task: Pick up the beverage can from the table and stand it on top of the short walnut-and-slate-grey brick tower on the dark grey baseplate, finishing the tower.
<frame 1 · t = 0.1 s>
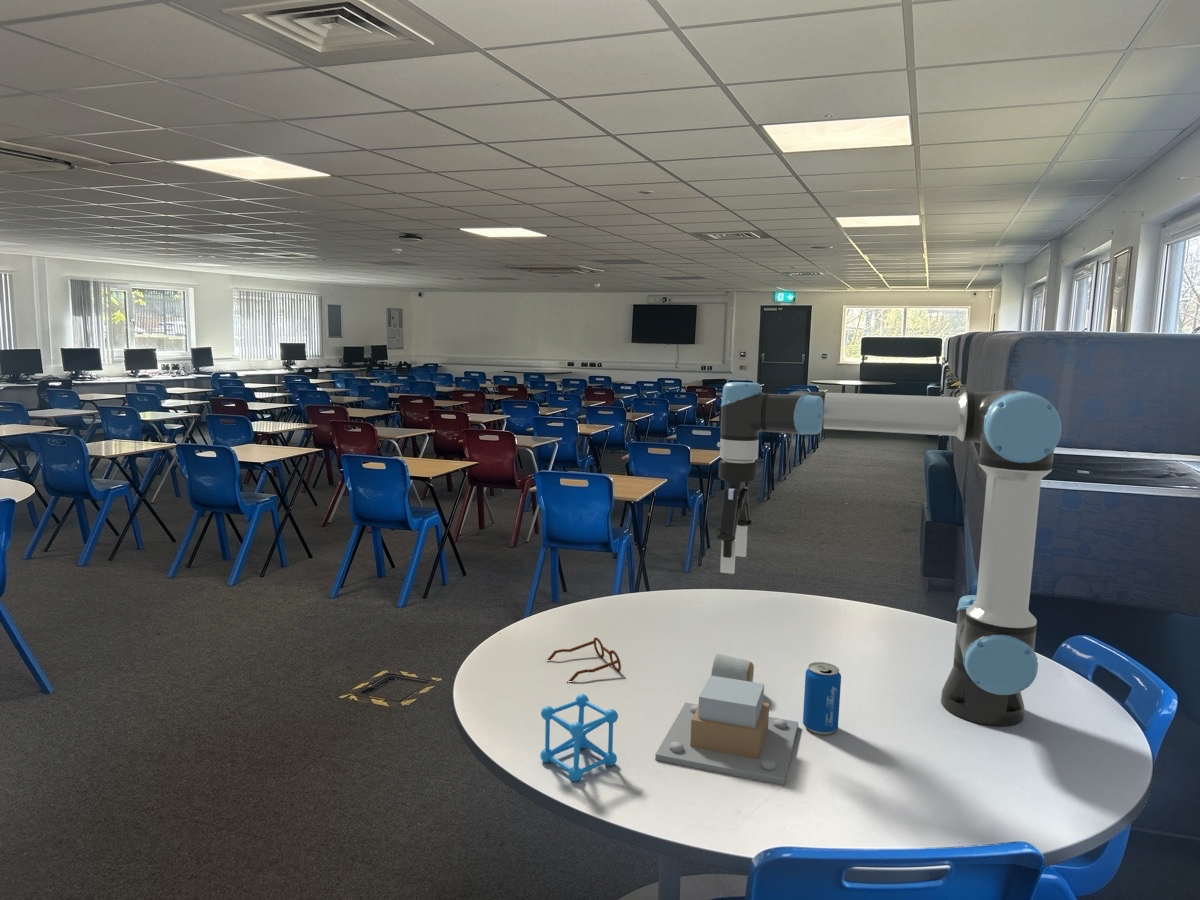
hand: (733, 564, 162), 28 cm above the table, tool pointing down, fingers open, 13 cm apart
beverage can: (820, 729, 152), on the table
molecular structure: (578, 764, 138), on the table
glasses: (582, 670, 179), on the table
tower base: (729, 742, 146), on the table
ceramic mug: (731, 690, 169), on the table
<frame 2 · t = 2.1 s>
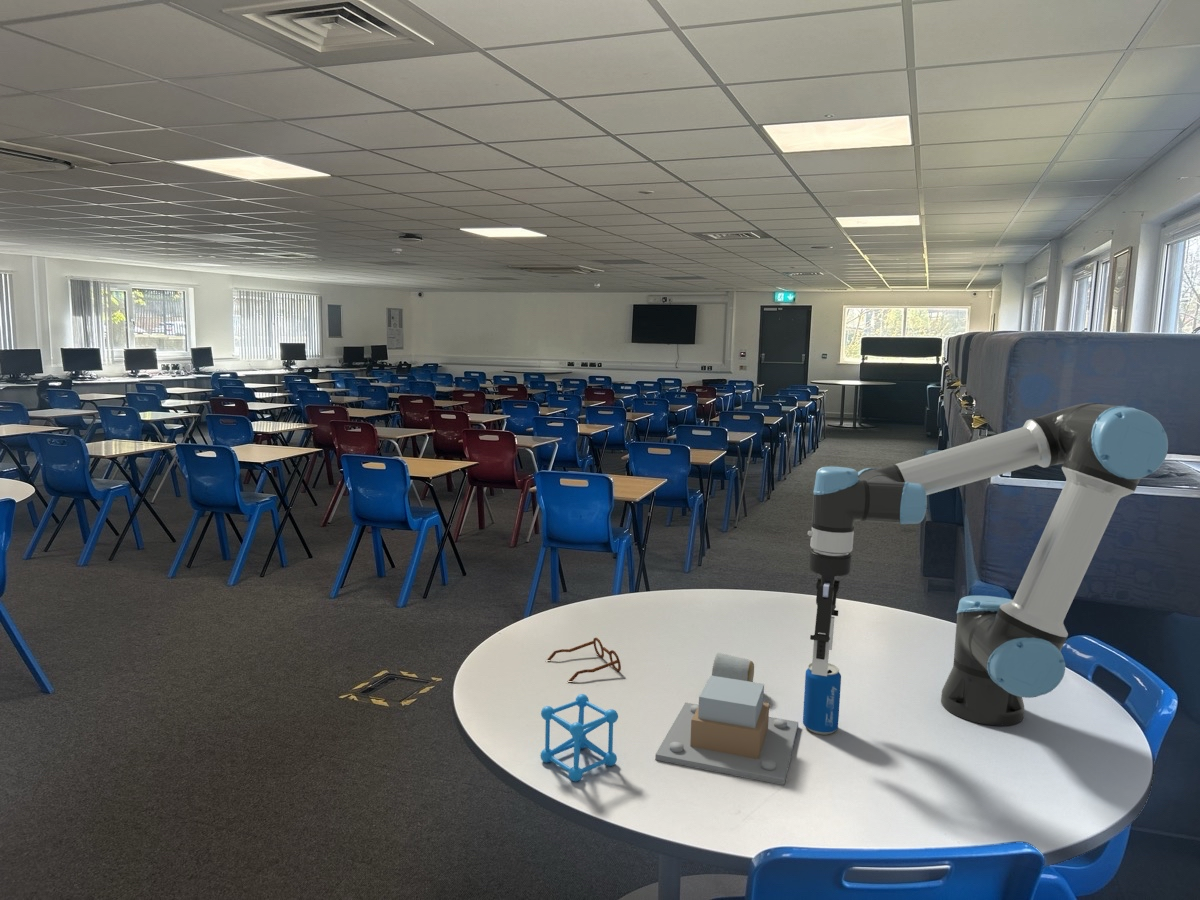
hand: (822, 661, 150), 13 cm above the table, tool pointing down, fingers open, 13 cm apart
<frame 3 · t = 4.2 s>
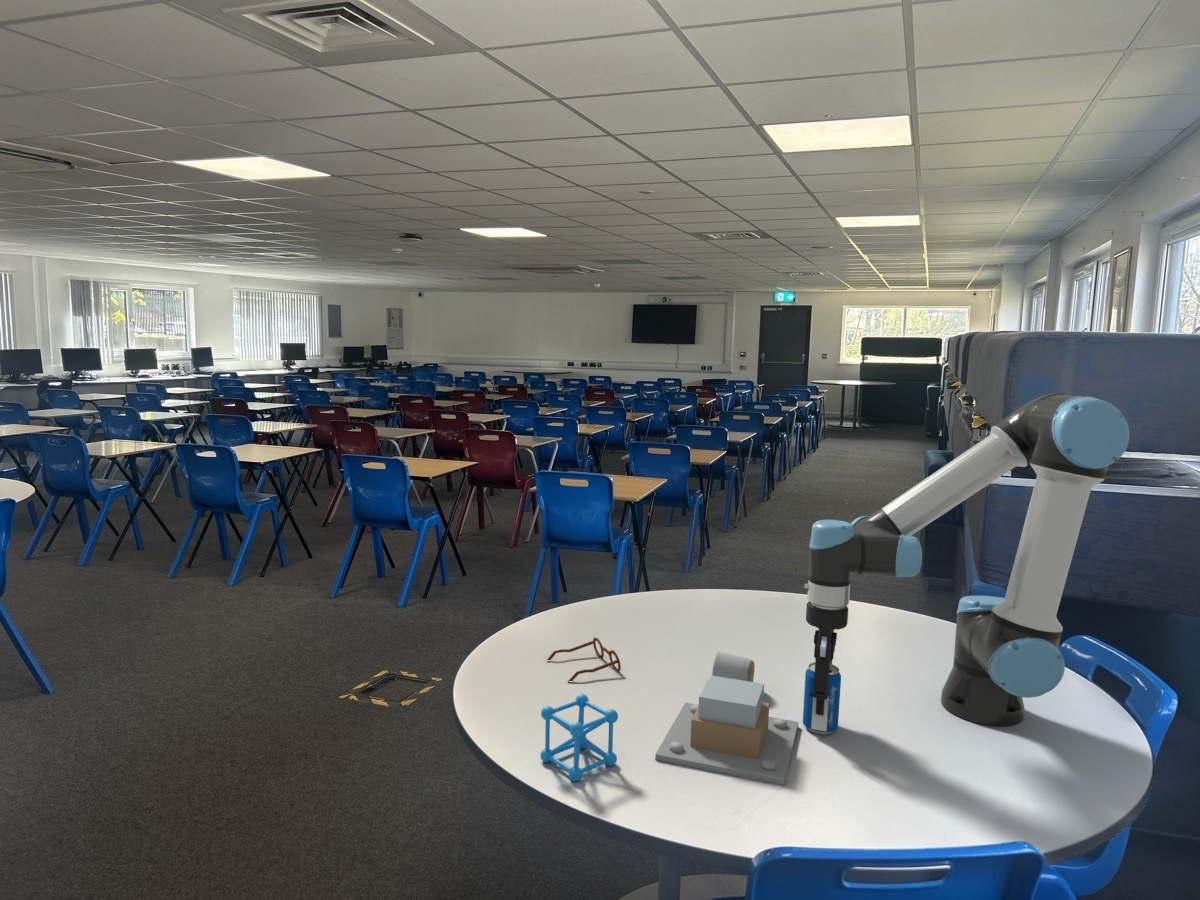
hand: (820, 720, 152), 1 cm above the table, tool pointing down, fingers closed on beverage can, 6 cm apart
beverage can: (819, 729, 152), on the table, touching gripper
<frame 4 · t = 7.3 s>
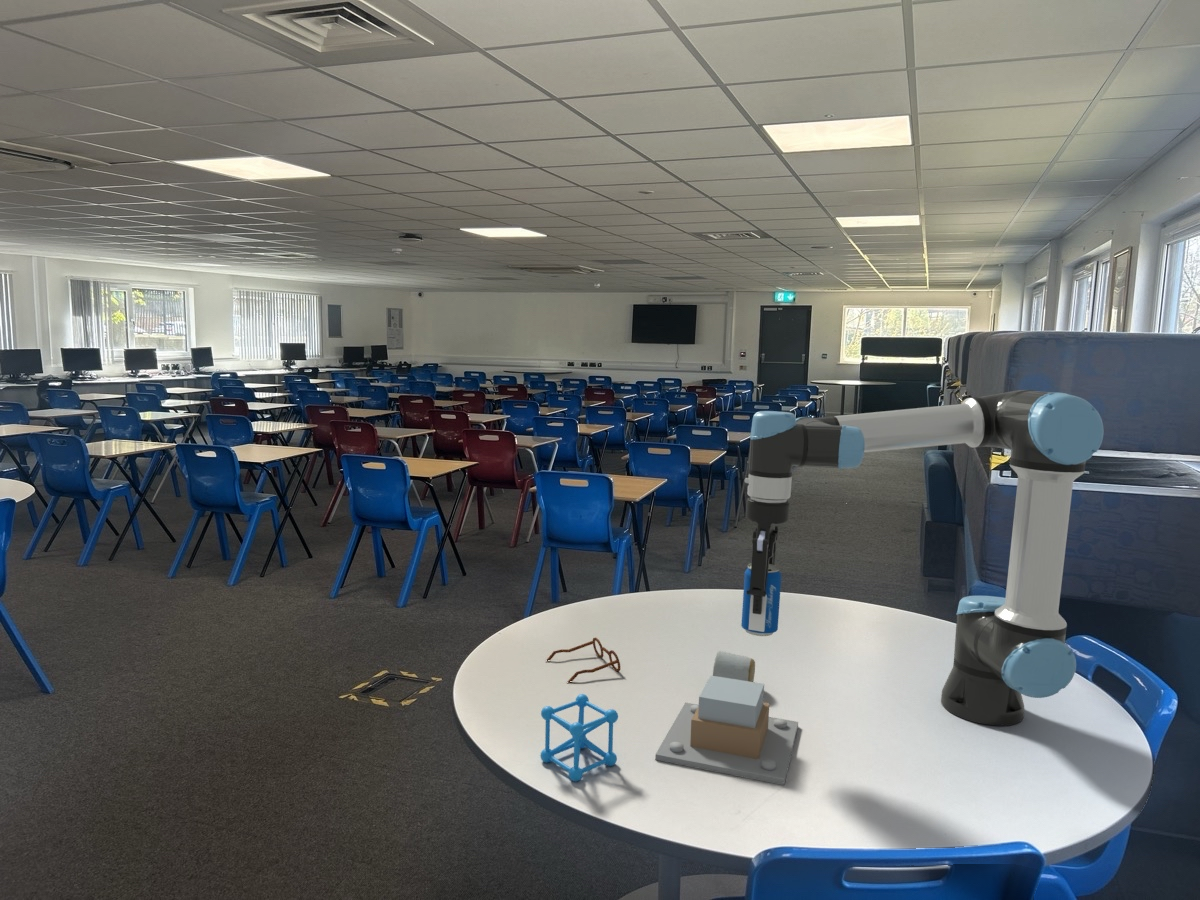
hand: (759, 623, 145), 22 cm above the table, tool pointing down, fingers closed on beverage can, 6 cm apart
beverage can: (759, 632, 145), point 20 cm above the table, touching gripper
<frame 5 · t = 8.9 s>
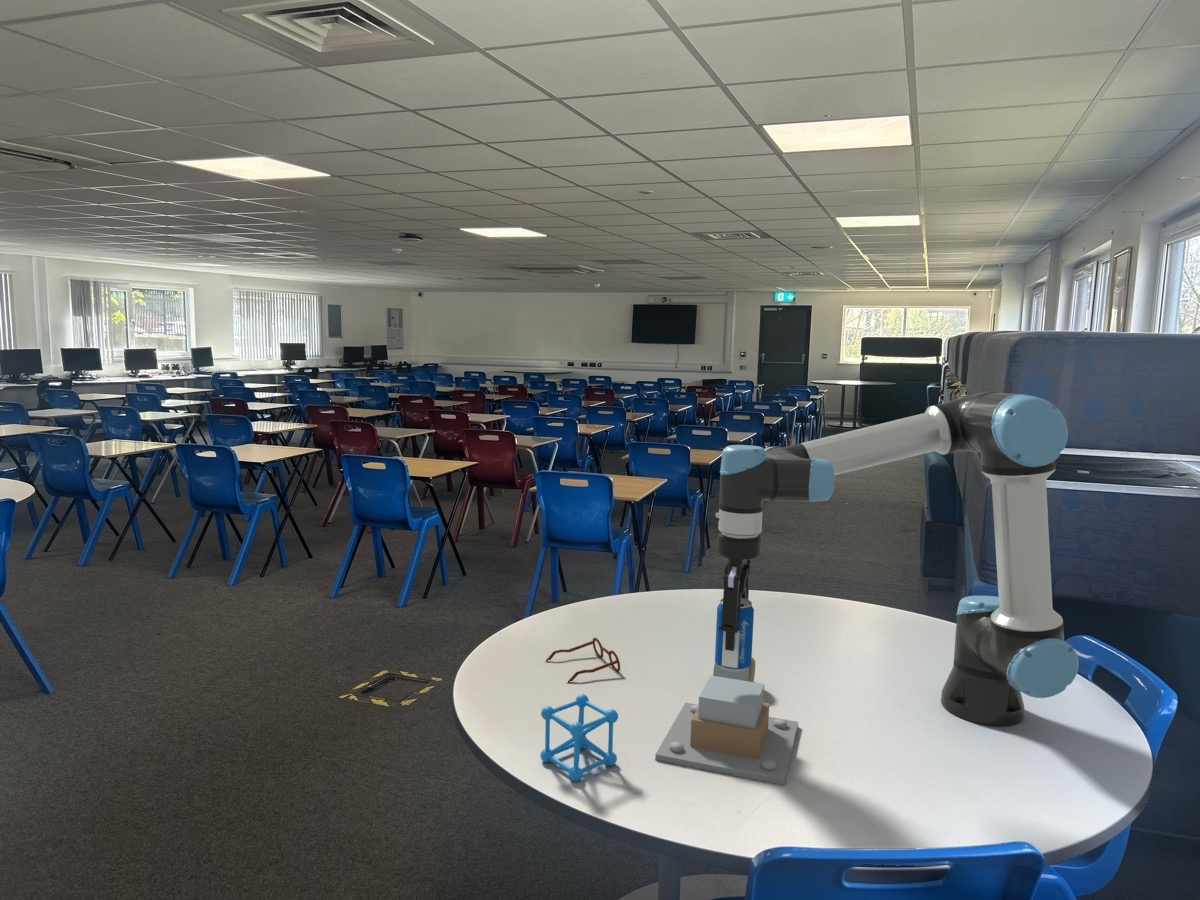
hand: (733, 658, 144), 16 cm above the table, tool pointing down, fingers closed on beverage can, 6 cm apart
beverage can: (732, 667, 144), point 14 cm above the table, touching gripper
when the fingers open (13 cm above the table, at t = 10.3 s): beverage can drops 1 cm, resting on tower base.
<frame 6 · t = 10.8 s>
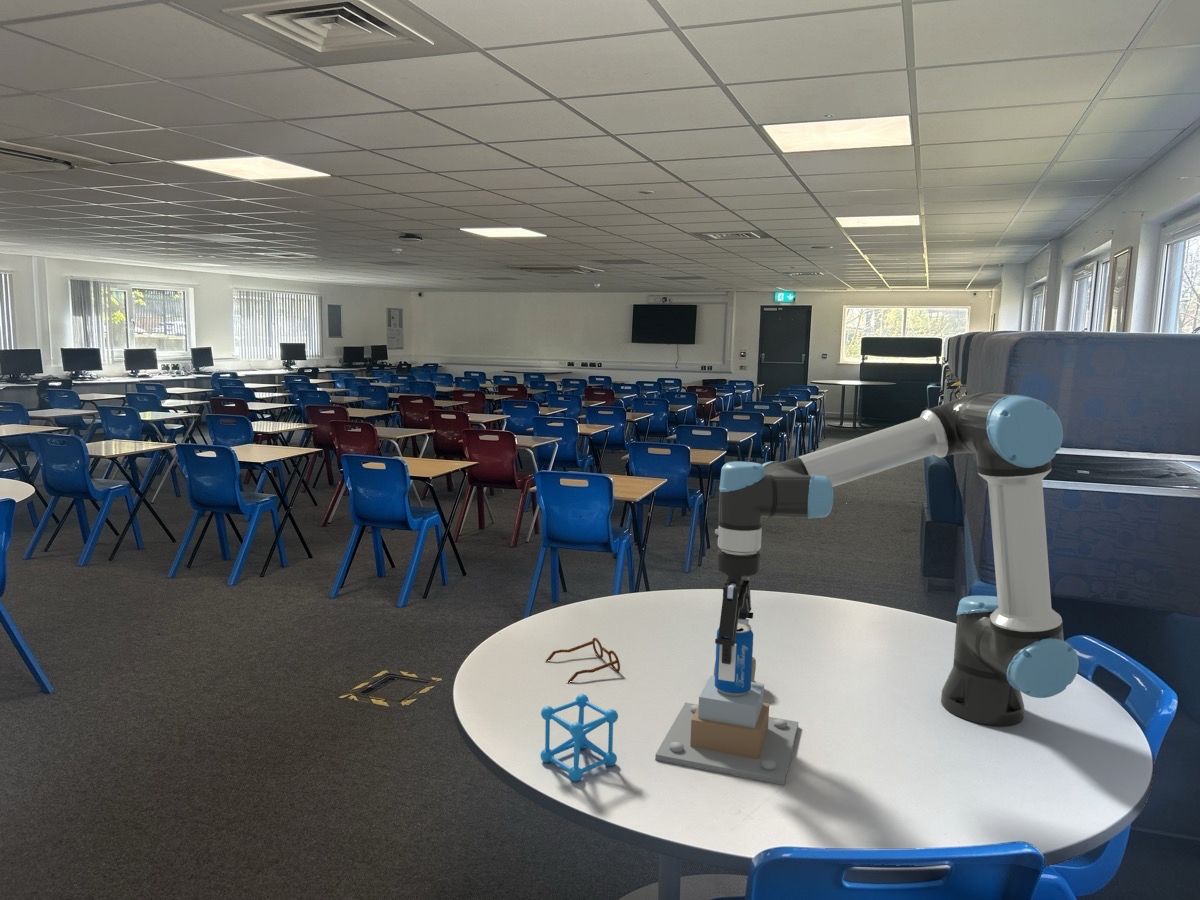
hand: (733, 665, 144), 15 cm above the table, tool pointing down, fingers open, 13 cm apart
beverage can: (732, 691, 145), point 10 cm above the table, touching tower base
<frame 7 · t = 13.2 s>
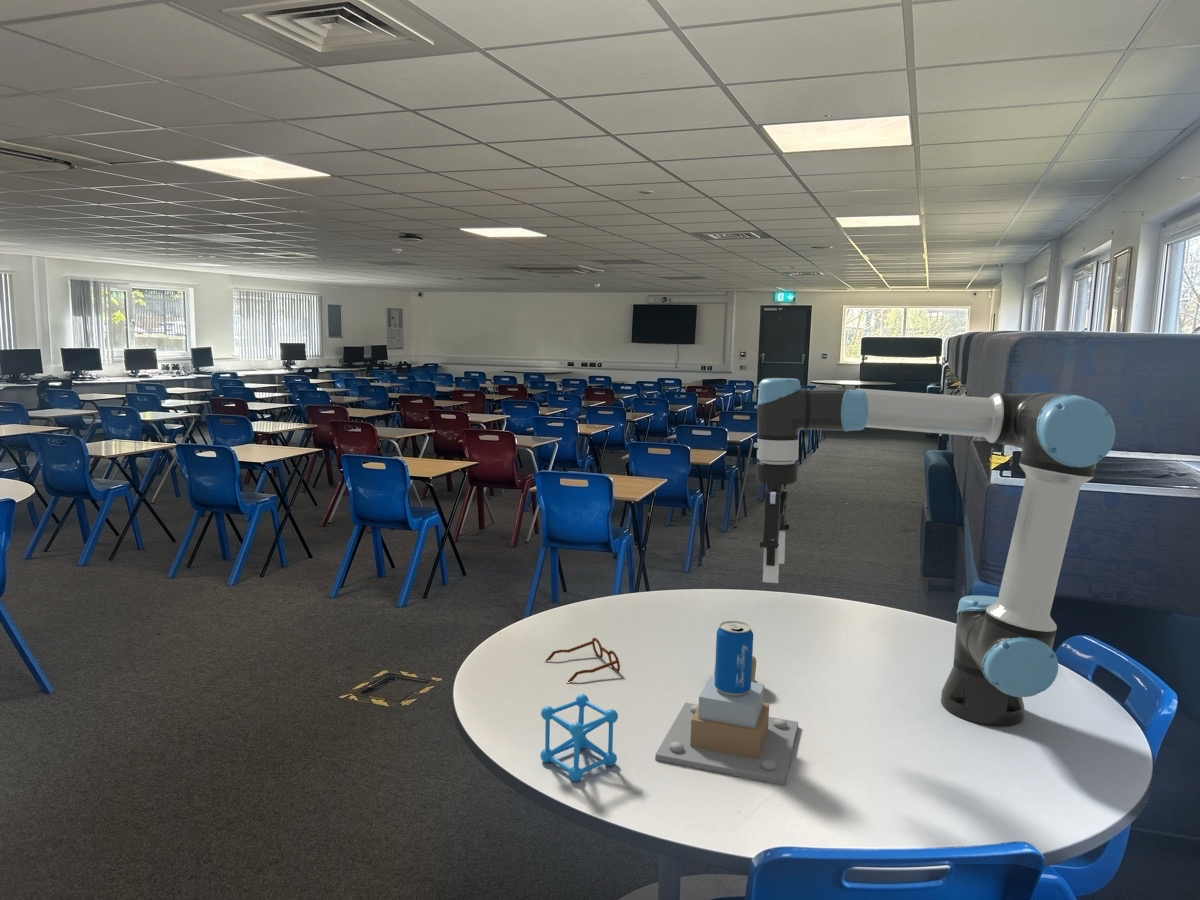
hand: (774, 572, 152), 29 cm above the table, tool pointing down, fingers open, 13 cm apart
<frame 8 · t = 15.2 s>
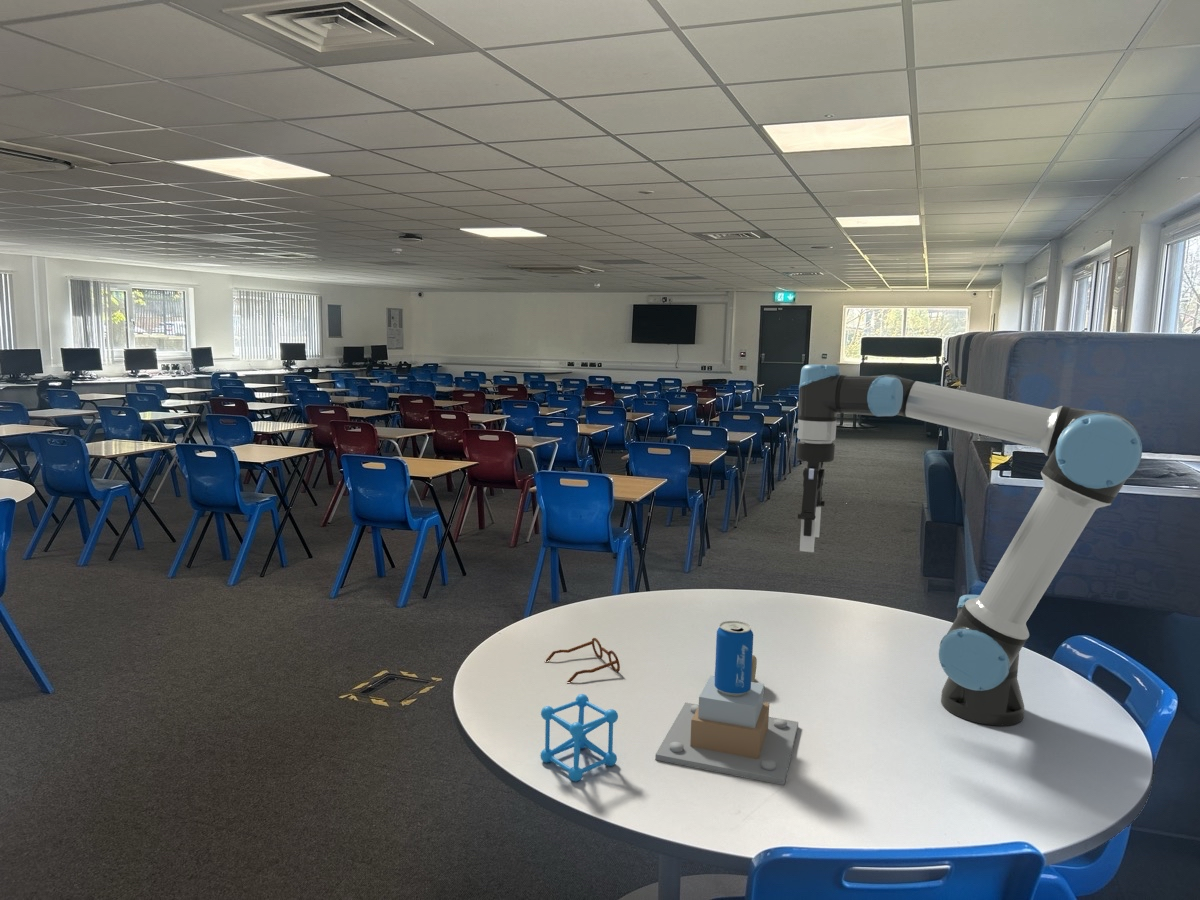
hand: (809, 543, 165), 32 cm above the table, tool pointing down, fingers open, 13 cm apart
at the end: beverage can 0.0 cm off-centre on the tower base, point 9.8 cm above the tower base's base; beverage can tilted 0°; the gripper is holding nothing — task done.
